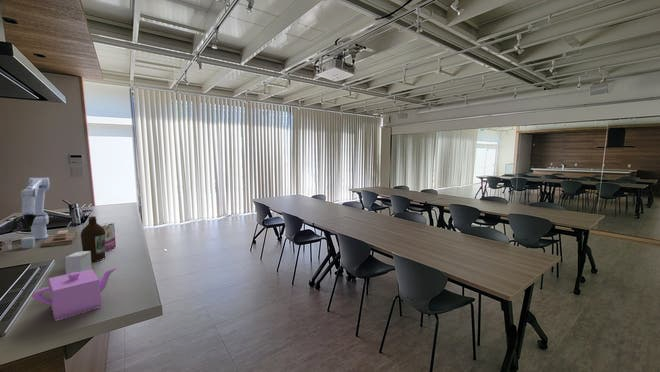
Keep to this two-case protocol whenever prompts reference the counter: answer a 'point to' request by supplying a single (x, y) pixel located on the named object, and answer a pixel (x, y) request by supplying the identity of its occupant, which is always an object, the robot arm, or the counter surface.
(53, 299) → the teapot
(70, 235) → the puzzle board
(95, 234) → the olive oil
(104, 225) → the candy bar box
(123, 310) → the counter surface
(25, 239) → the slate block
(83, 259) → the skincare box
